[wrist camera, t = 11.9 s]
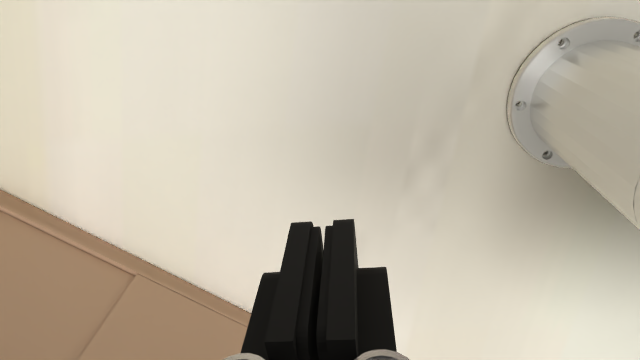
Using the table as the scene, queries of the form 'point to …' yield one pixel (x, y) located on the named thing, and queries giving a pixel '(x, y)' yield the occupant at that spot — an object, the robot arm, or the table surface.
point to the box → (99, 299)
